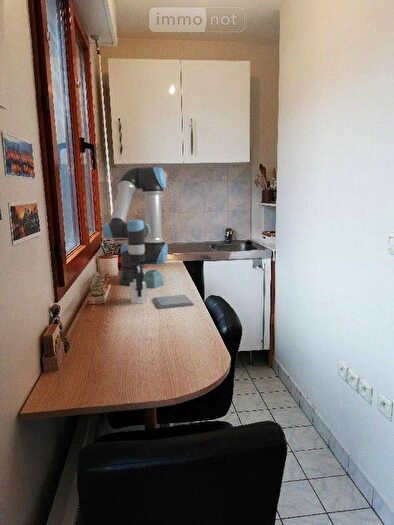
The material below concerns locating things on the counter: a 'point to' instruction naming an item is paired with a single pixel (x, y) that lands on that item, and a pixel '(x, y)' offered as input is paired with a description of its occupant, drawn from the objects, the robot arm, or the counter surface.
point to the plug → (133, 292)
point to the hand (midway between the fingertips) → (138, 301)
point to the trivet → (172, 301)
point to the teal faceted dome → (153, 279)
